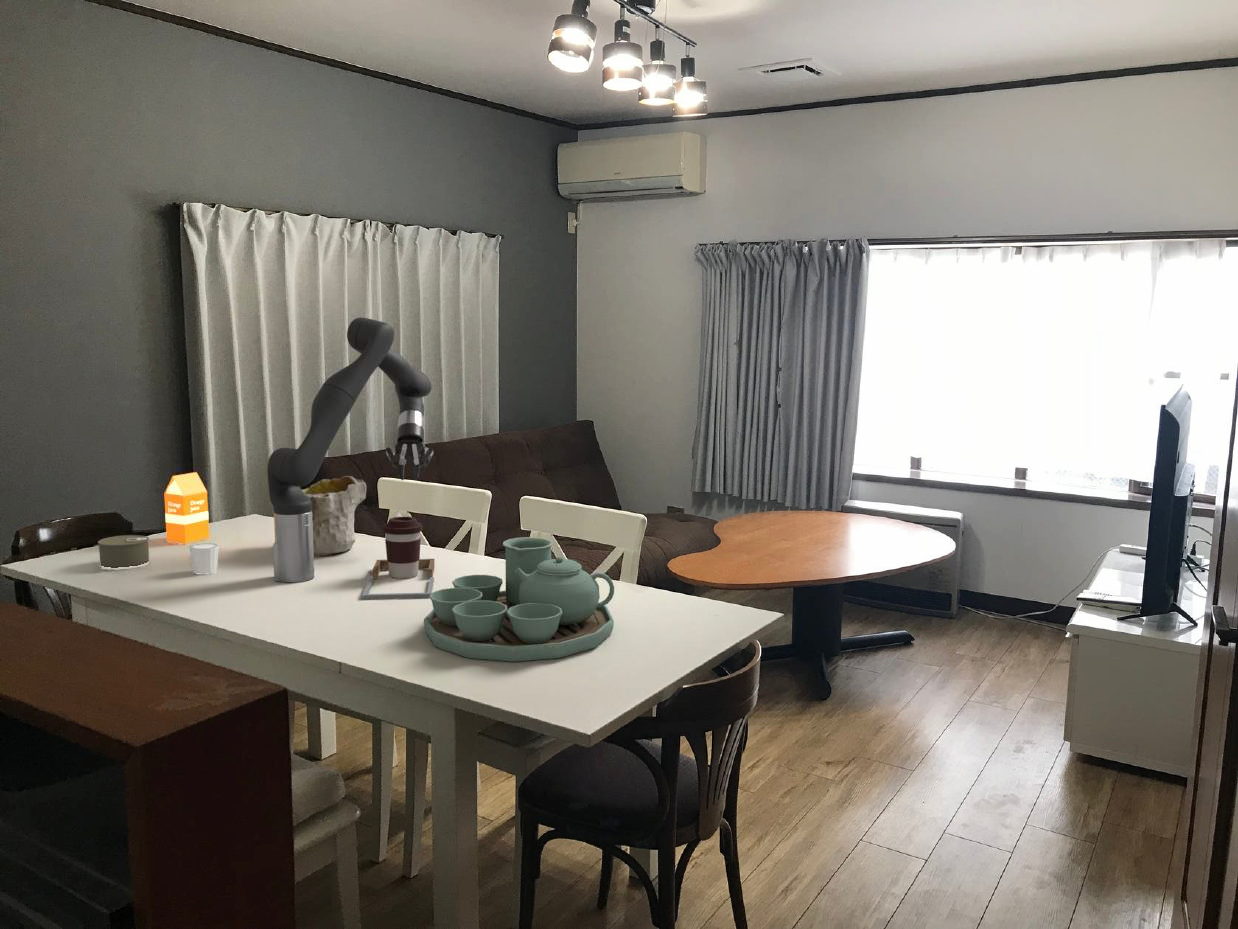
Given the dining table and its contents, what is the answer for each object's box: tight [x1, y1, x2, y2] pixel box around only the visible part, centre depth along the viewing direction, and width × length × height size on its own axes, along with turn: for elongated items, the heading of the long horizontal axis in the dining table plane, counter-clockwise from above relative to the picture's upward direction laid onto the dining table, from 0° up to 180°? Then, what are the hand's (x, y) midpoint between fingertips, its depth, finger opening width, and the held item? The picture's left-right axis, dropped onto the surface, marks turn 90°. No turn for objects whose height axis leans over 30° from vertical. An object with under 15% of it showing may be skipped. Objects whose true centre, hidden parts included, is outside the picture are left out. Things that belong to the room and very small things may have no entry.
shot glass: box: [189, 543, 219, 574], centre depth 248 cm, size 7×7×7 cm
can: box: [97, 534, 150, 568], centre depth 254 cm, size 12×12×7 cm
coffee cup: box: [382, 516, 423, 580], centre depth 246 cm, size 10×10×15 cm
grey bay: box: [361, 576, 435, 600], centre depth 234 cm, size 16×15×1 cm
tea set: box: [423, 536, 615, 663], centre depth 203 cm, size 40×40×16 cm
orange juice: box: [163, 471, 210, 544], centre depth 282 cm, size 8×9×20 cm
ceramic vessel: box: [301, 475, 367, 557], centre depth 272 cm, size 23×24×25 cm
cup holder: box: [371, 558, 435, 581], centre depth 249 cm, size 15×12×2 cm
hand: (408, 478), depth 266 cm, fingers open, 3 cm apart
